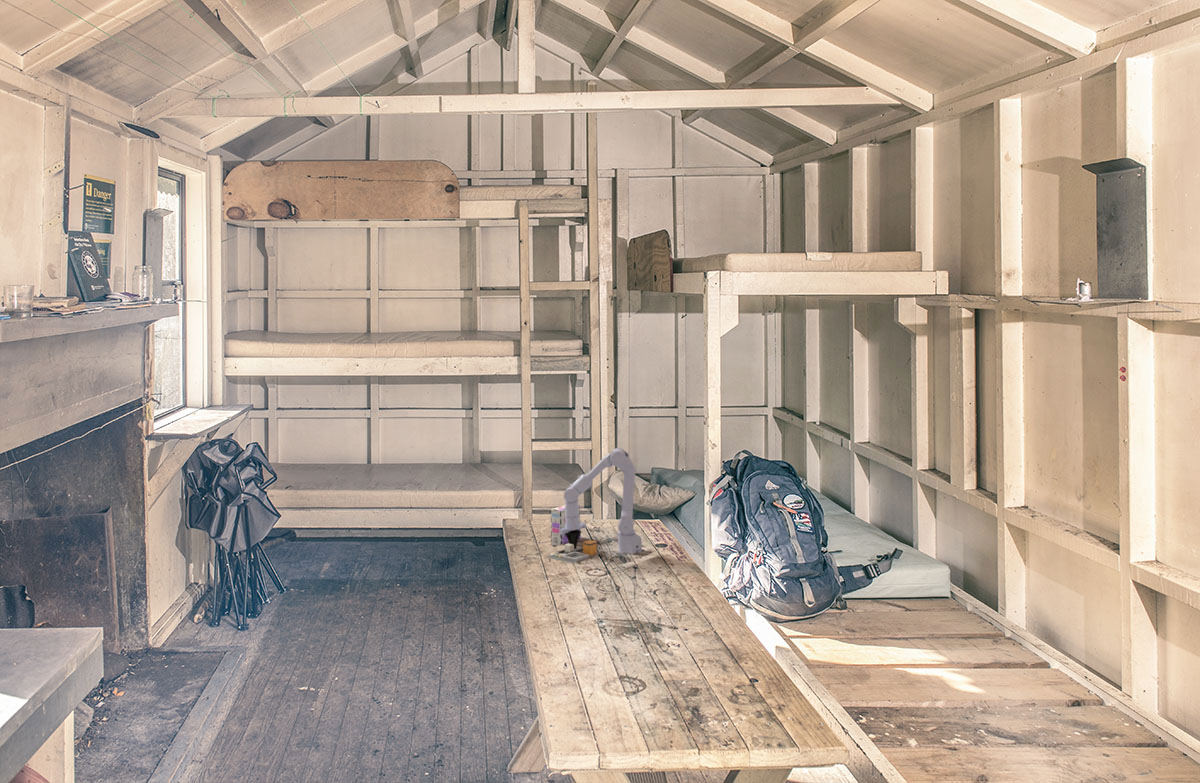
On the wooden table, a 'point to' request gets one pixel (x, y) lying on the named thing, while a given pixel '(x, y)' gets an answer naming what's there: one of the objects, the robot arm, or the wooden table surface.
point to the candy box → (559, 526)
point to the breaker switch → (569, 547)
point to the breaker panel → (571, 555)
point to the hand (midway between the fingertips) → (573, 548)
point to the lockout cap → (590, 547)
